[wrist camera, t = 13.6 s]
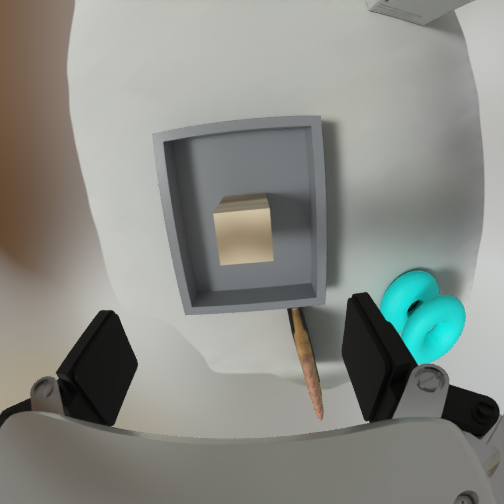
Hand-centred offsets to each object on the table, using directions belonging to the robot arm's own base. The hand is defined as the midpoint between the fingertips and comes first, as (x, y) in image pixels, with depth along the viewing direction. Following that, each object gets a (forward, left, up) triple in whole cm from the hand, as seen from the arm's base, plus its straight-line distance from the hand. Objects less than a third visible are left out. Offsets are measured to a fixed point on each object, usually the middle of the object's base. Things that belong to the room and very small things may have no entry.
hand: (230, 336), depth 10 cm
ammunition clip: (+18, +6, -22) cm, 29 cm away
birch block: (0, 0, -21) cm, 21 cm away
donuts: (+14, +22, -22) cm, 34 cm away
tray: (0, 0, -22) cm, 22 cm away
